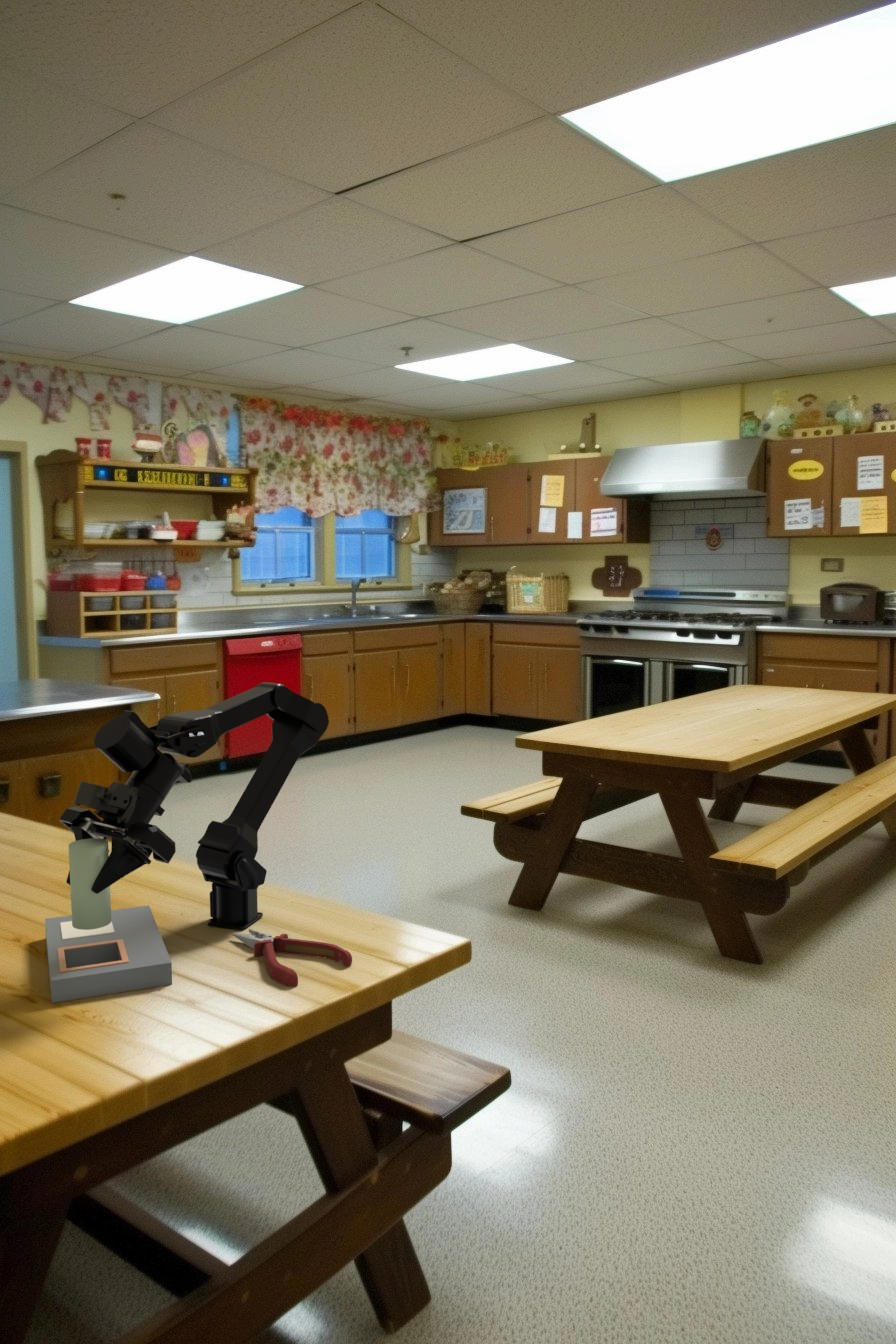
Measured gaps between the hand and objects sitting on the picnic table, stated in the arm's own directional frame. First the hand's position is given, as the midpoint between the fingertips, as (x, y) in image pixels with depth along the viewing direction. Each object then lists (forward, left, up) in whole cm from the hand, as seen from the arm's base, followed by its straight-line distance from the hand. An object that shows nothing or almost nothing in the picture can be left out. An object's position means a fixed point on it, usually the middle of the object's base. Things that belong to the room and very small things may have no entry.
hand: (81, 888), depth 136 cm
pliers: (-23, -17, -14) cm, 31 cm away
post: (0, -1, -5) cm, 5 cm away
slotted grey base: (+2, -7, -13) cm, 15 cm away
